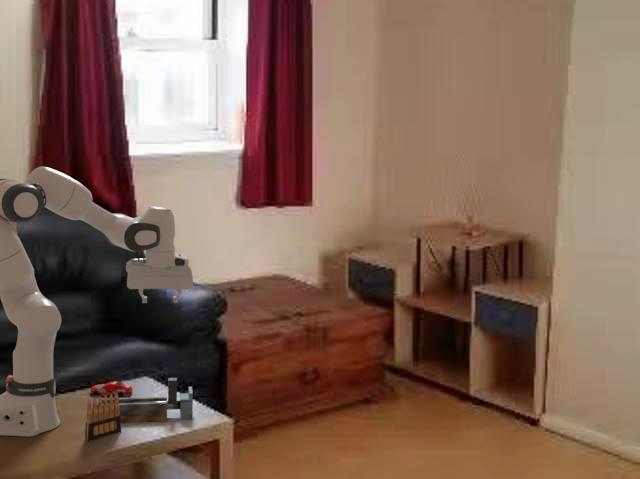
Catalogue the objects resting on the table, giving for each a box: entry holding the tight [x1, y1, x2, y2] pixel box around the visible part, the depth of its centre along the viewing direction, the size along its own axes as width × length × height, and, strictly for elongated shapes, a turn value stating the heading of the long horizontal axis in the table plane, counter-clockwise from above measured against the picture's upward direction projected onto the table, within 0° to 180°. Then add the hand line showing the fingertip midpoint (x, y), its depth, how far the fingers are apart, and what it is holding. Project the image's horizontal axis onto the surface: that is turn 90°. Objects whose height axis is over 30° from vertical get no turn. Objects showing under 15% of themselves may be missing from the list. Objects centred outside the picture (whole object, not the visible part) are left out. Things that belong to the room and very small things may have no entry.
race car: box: [89, 381, 133, 398], centre depth 312 cm, size 13×5×4 cm, turn 86°
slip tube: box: [133, 377, 181, 411], centre depth 293 cm, size 16×3×9 cm, turn 100°
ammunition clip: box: [84, 392, 122, 442], centre depth 277 cm, size 11×2×12 cm, turn 134°
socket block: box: [179, 386, 194, 420], centre depth 295 cm, size 4×6×8 cm, turn 10°
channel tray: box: [92, 396, 168, 424], centre depth 292 cm, size 22×9×5 cm, turn 100°
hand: (160, 302), depth 304 cm, fingers open, 8 cm apart
